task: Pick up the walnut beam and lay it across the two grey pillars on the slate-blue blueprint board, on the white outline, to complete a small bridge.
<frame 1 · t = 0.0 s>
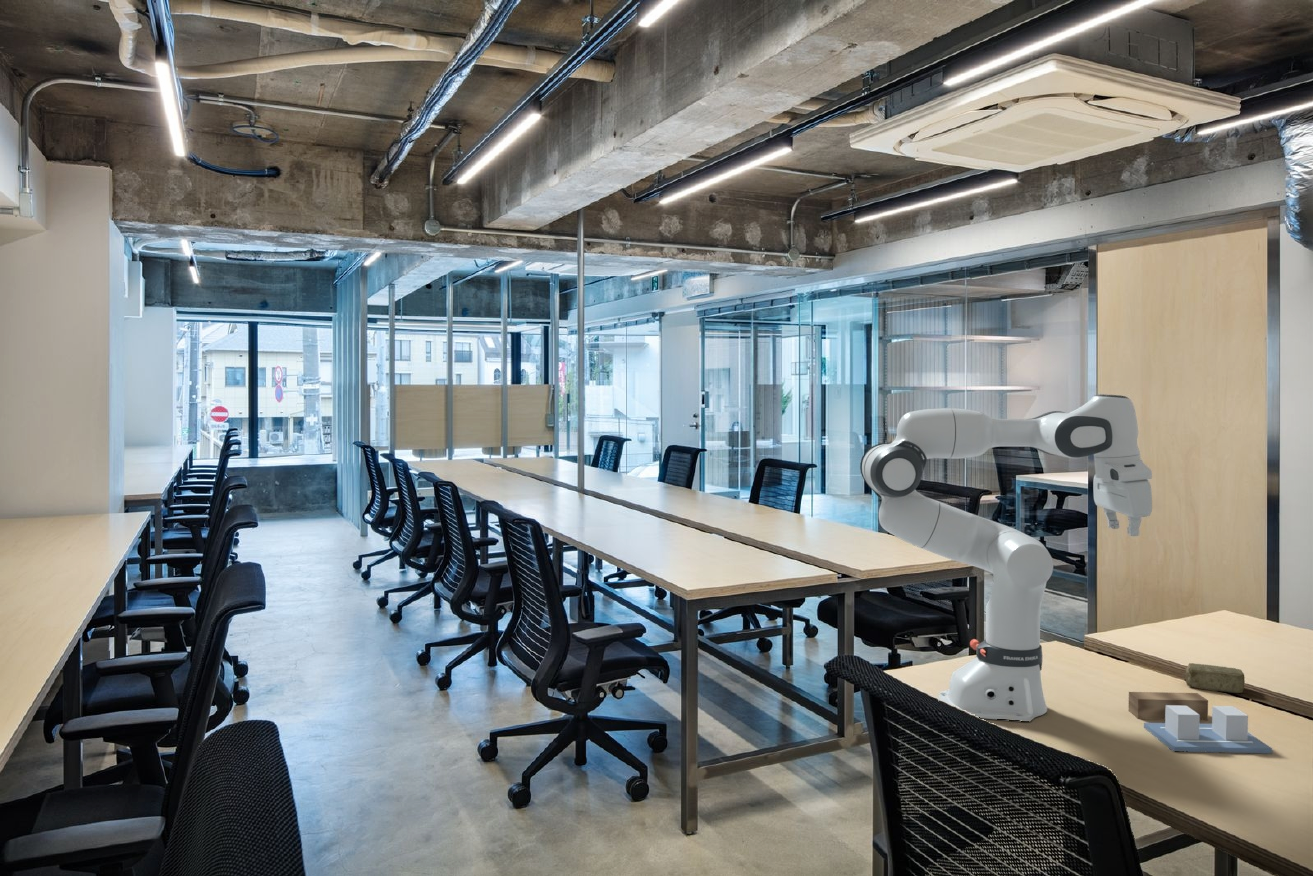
hand: (1123, 532, 189), 39 cm above the table, tool pointing down, fingers open, 8 cm apart
stone block: (1214, 689, 203), on the table
walnut beam: (1167, 716, 187), on the table
bridge base: (1205, 740, 174), on the table
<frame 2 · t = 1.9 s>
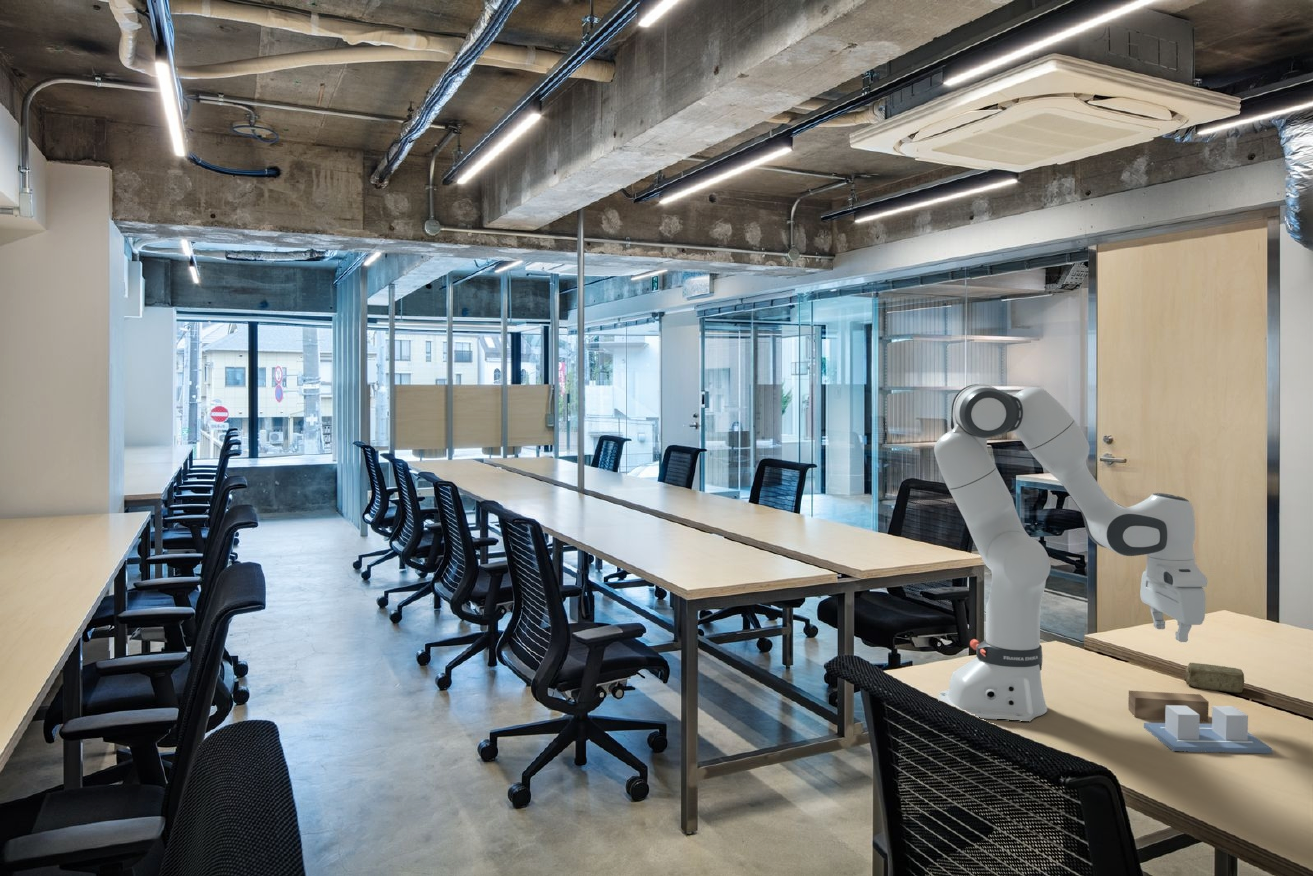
hand: (1170, 634, 186), 17 cm above the table, tool pointing down, fingers open, 8 cm apart
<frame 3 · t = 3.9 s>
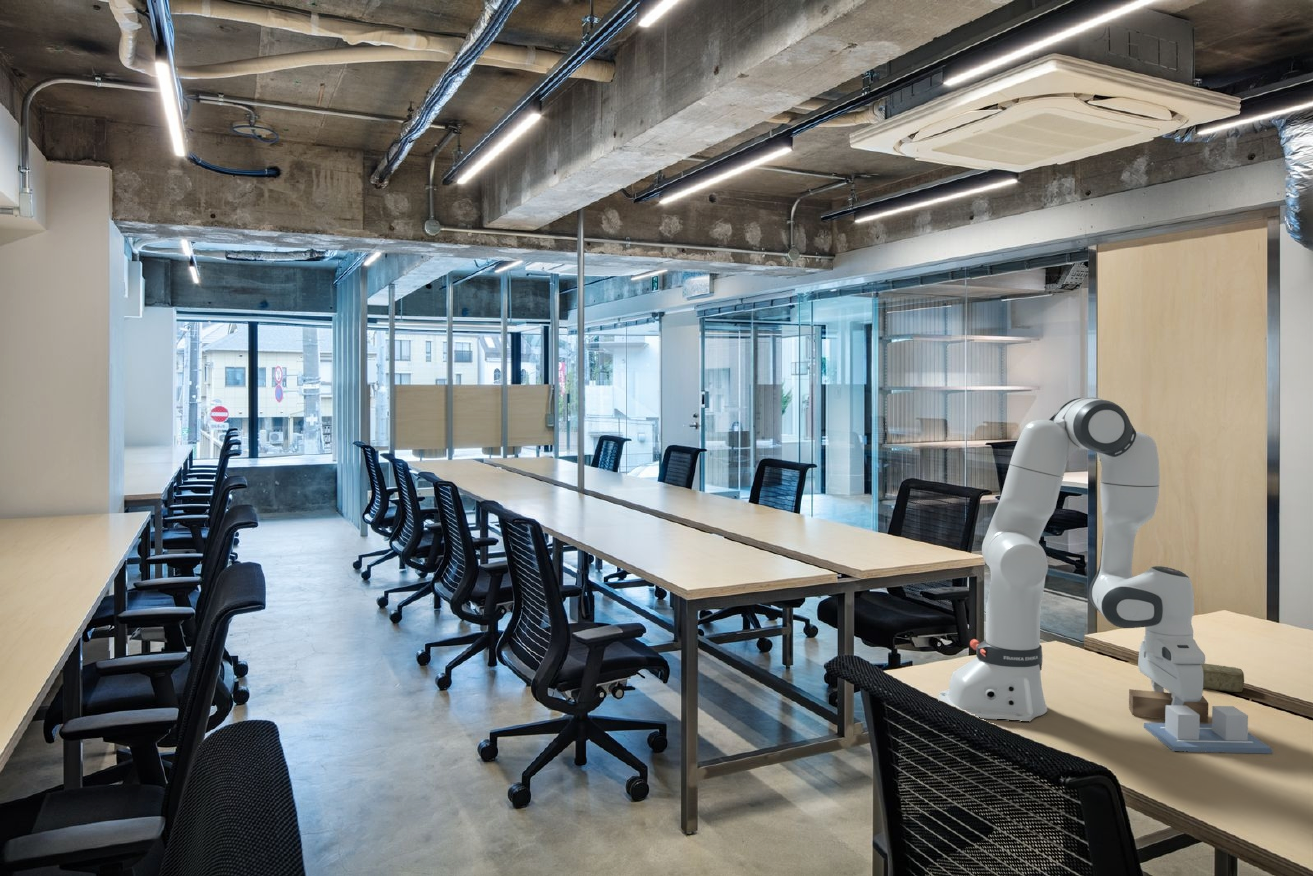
hand: (1167, 707, 187), 2 cm above the table, tool pointing down, fingers closed on walnut beam, 5 cm apart
walnut beam: (1167, 716, 187), on the table, touching gripper
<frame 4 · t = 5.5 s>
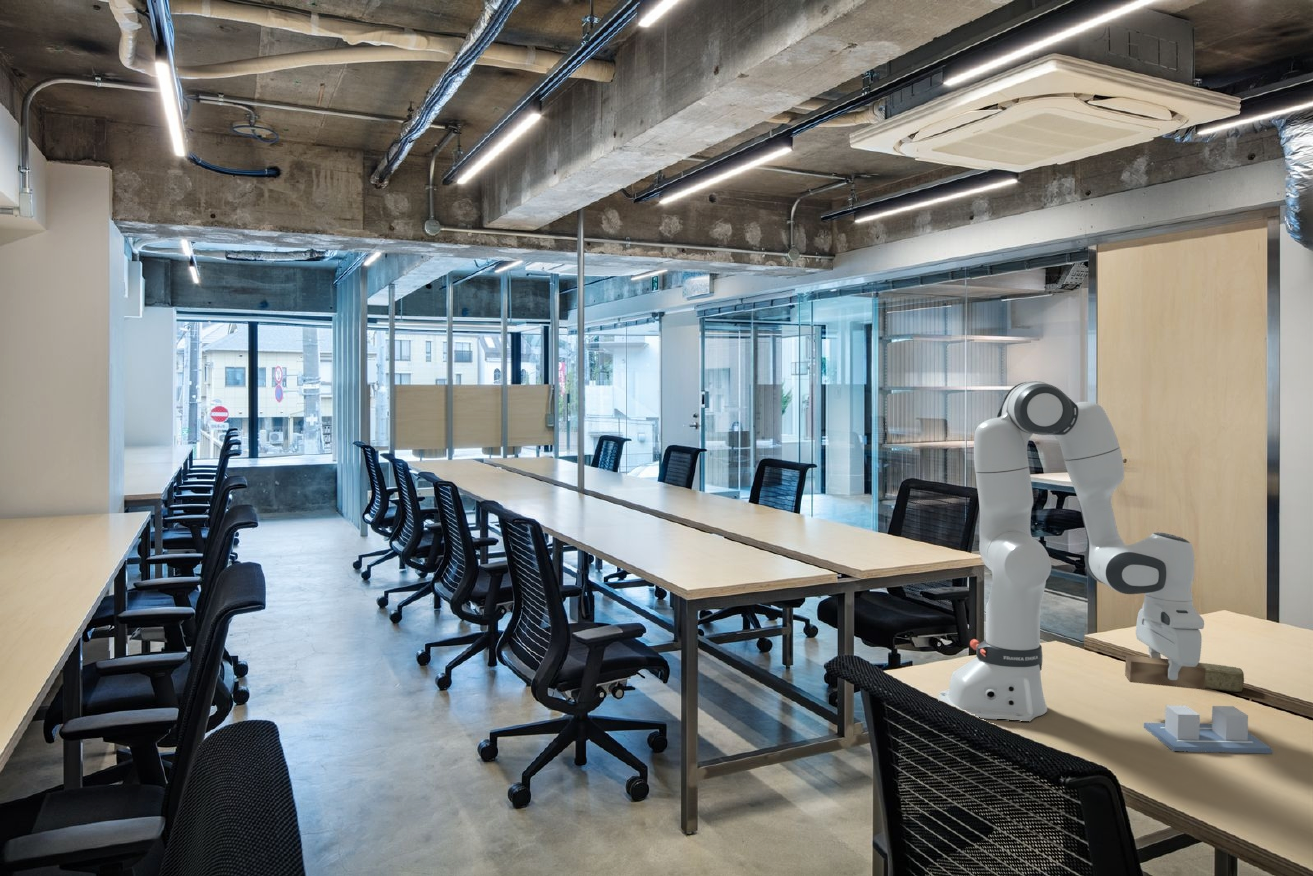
hand: (1163, 674, 186), 9 cm above the table, tool pointing down, fingers closed on walnut beam, 5 cm apart
walnut beam: (1163, 682, 187), point 7 cm above the table, touching gripper
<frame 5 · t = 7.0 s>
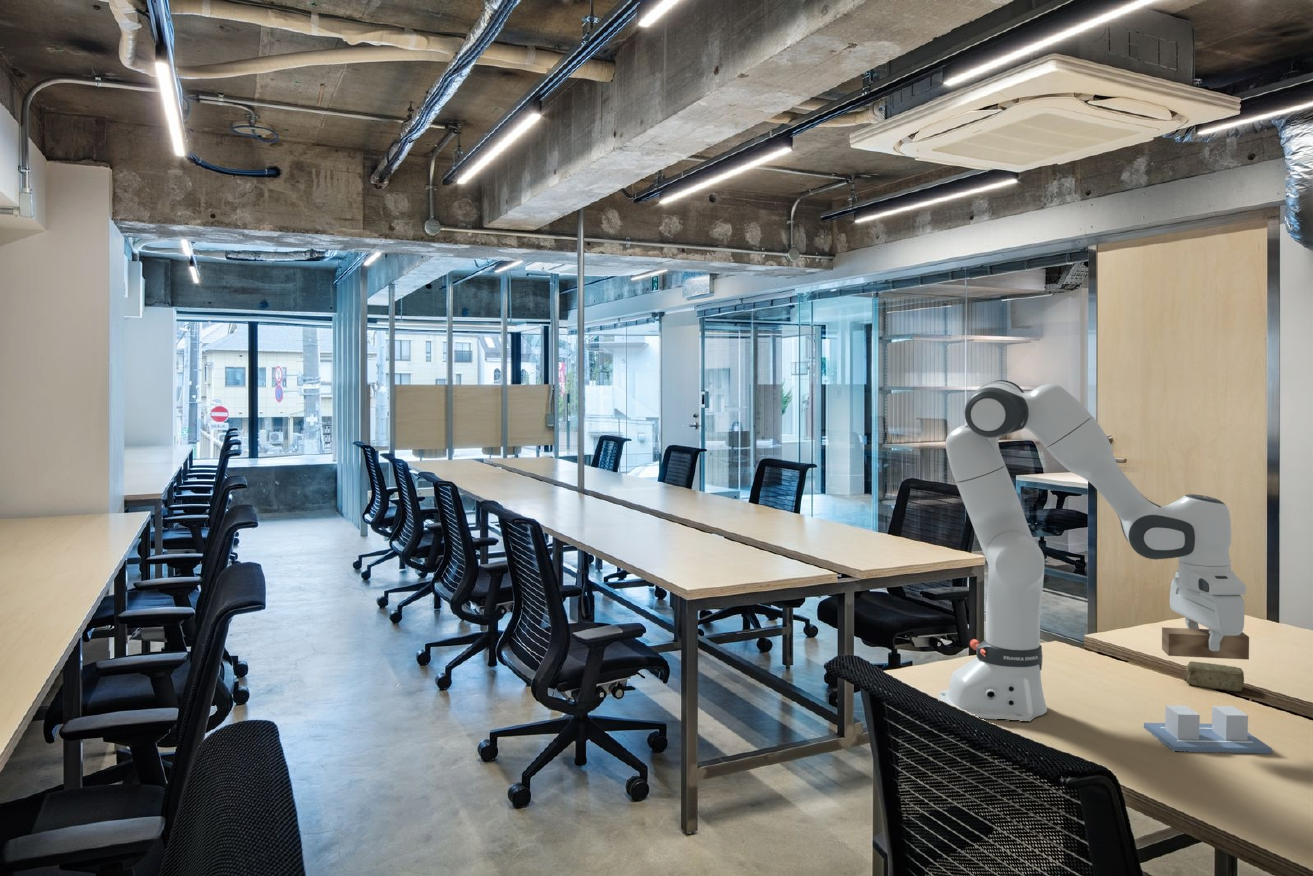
hand: (1203, 645, 174), 19 cm above the table, tool pointing down, fingers closed on walnut beam, 5 cm apart
walnut beam: (1204, 654, 175), point 17 cm above the table, touching gripper
when the fingers open (9 cm above the table, at t = 9.4 s): walnut beam stays where it is, resting on bridge base.
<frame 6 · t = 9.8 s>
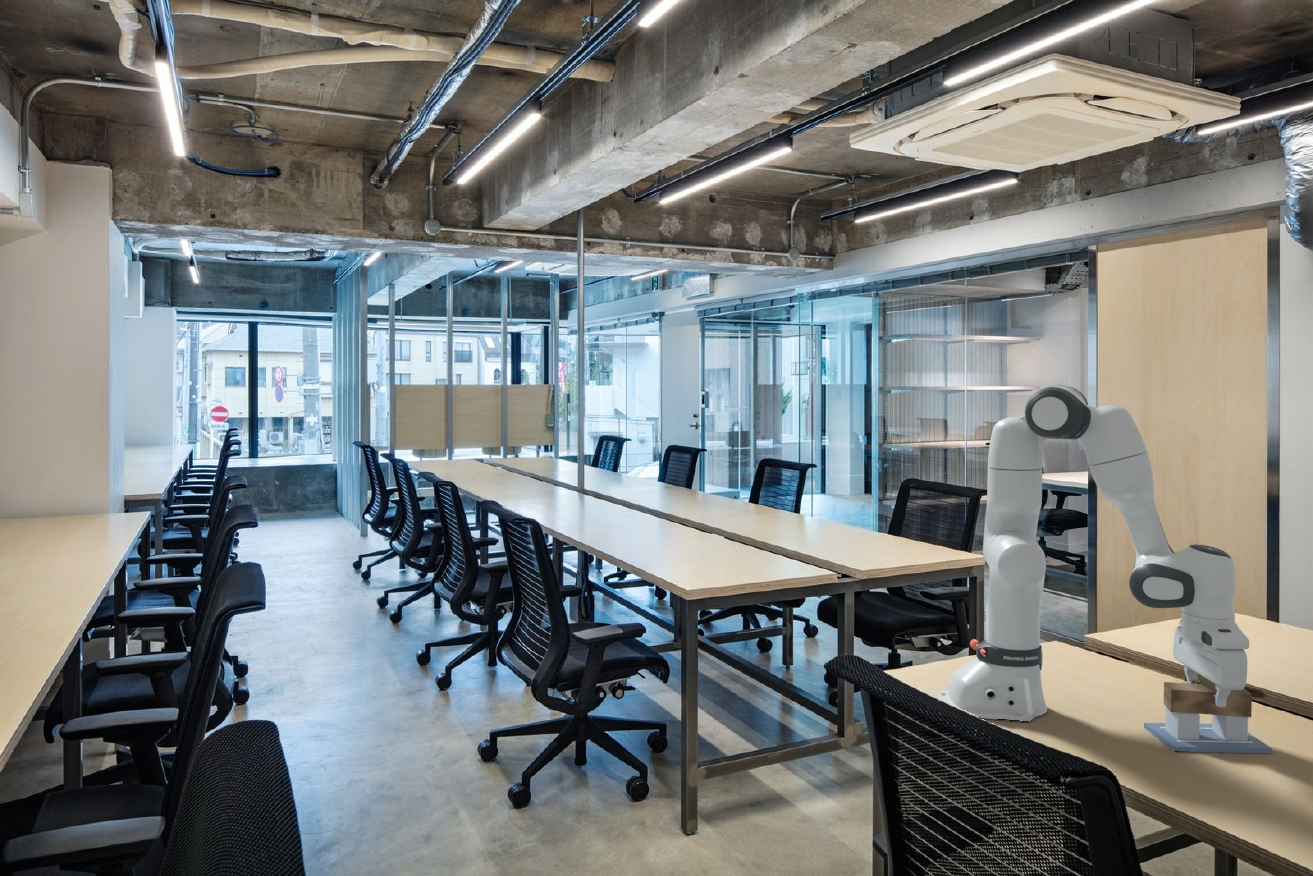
hand: (1206, 697, 173), 9 cm above the table, tool pointing down, fingers open, 8 cm apart
walnut beam: (1206, 710, 173), point 6 cm above the table, touching bridge base
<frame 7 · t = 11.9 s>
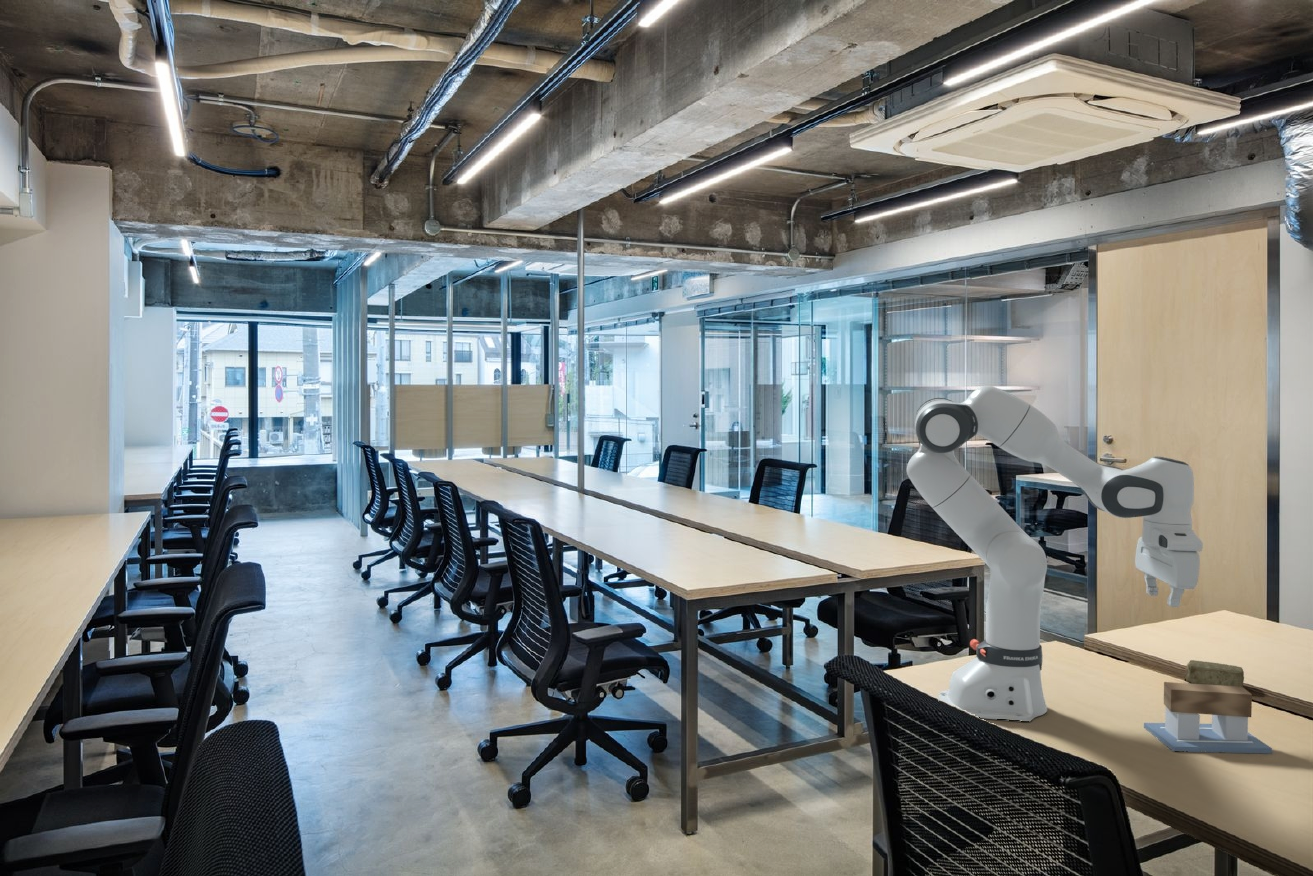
hand: (1162, 600, 183), 25 cm above the table, tool pointing down, fingers open, 8 cm apart
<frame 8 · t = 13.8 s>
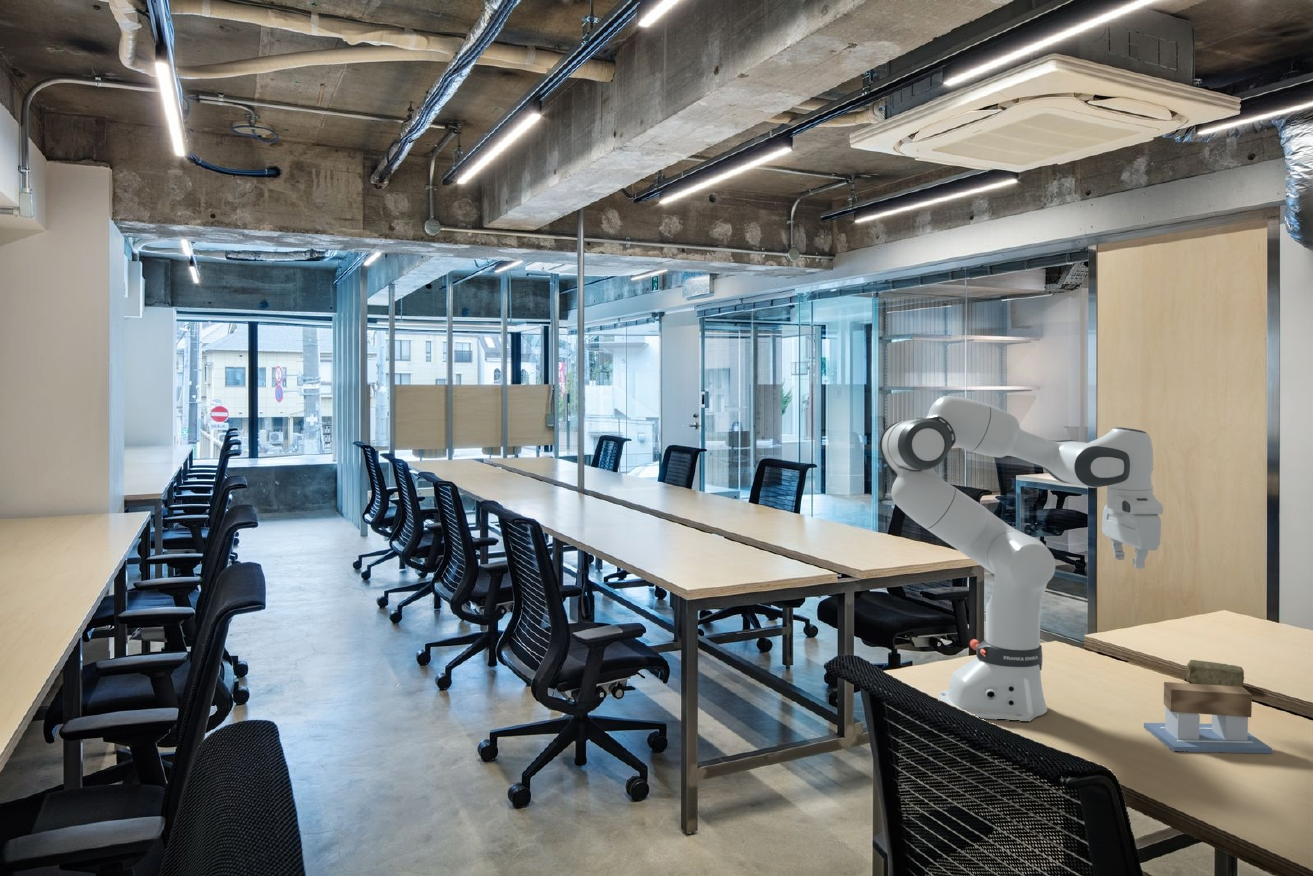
hand: (1128, 563, 193), 31 cm above the table, tool pointing down, fingers open, 8 cm apart
at the end: walnut beam 0.1 cm off-centre on the bridge base, point 6.0 cm above the bridge base's base; walnut beam tilted 0°; the gripper is holding nothing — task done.
